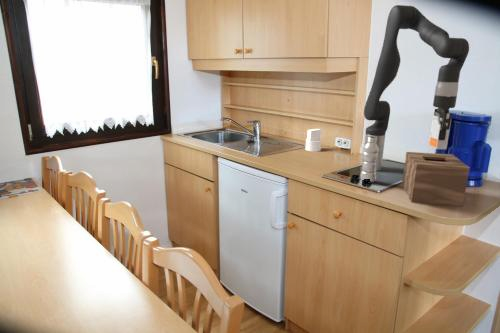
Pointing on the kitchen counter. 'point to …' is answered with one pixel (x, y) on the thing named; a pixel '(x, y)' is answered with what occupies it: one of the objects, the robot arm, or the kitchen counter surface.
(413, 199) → the walnut slot box
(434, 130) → the skincare box
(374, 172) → the plastic bottle
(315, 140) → the cylinder with rectangular tab
